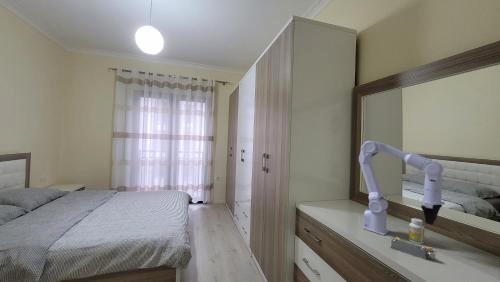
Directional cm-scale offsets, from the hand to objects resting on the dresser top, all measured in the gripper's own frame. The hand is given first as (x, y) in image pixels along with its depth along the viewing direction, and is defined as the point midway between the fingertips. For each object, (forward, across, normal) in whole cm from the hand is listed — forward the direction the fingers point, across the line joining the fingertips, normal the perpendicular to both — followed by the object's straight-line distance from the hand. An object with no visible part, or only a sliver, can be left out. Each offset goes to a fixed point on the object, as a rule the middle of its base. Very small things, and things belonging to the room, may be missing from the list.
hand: (430, 222), depth 90 cm
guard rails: (+10, -9, +5) cm, 14 cm away
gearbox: (+10, -14, +3) cm, 18 cm away
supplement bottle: (+10, 0, +5) cm, 11 cm away
